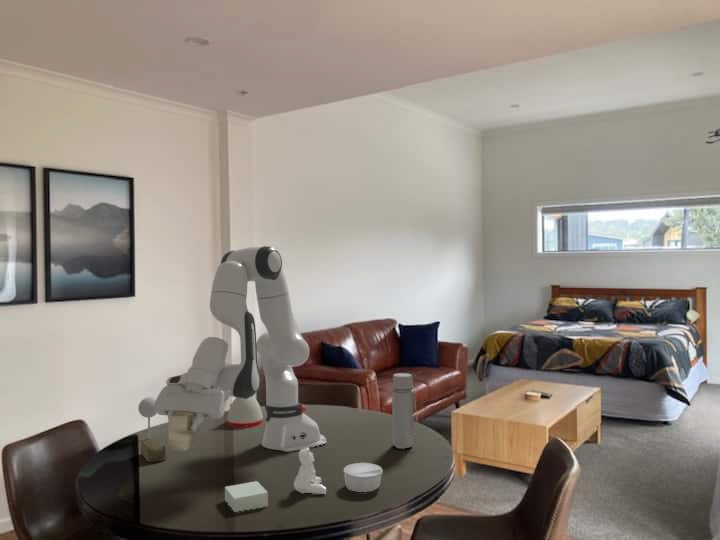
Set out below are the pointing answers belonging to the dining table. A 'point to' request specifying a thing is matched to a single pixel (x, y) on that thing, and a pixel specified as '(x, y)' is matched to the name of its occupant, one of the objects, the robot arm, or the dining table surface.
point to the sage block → (246, 496)
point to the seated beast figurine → (308, 475)
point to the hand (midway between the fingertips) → (180, 429)
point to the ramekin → (362, 477)
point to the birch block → (181, 431)
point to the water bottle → (403, 409)
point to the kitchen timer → (245, 413)
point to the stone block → (153, 450)
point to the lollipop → (147, 410)
